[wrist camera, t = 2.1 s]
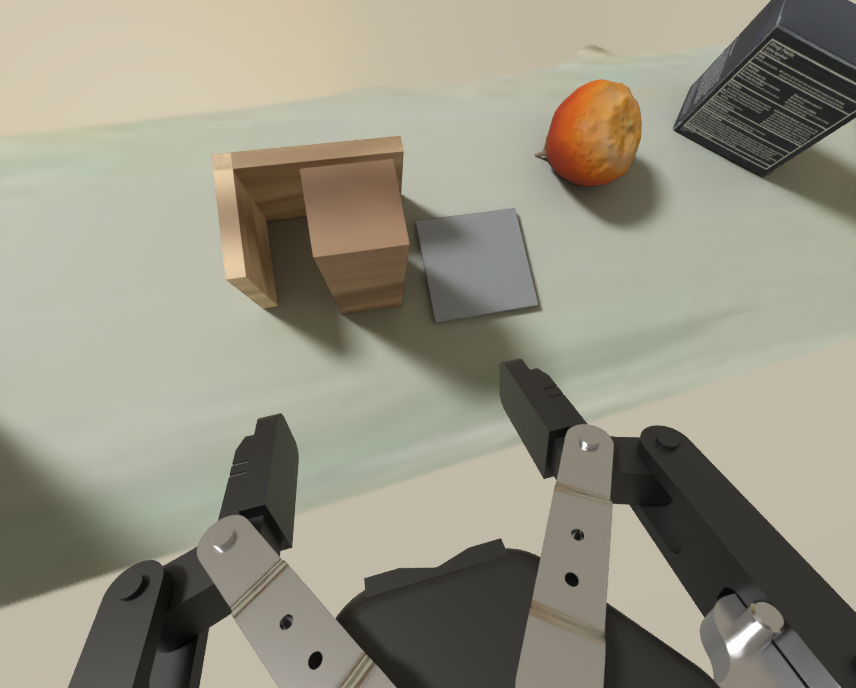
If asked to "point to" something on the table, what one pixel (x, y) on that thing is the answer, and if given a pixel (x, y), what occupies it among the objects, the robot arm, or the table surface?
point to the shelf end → (275, 201)
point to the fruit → (594, 134)
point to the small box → (777, 85)
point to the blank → (358, 232)
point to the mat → (475, 264)
